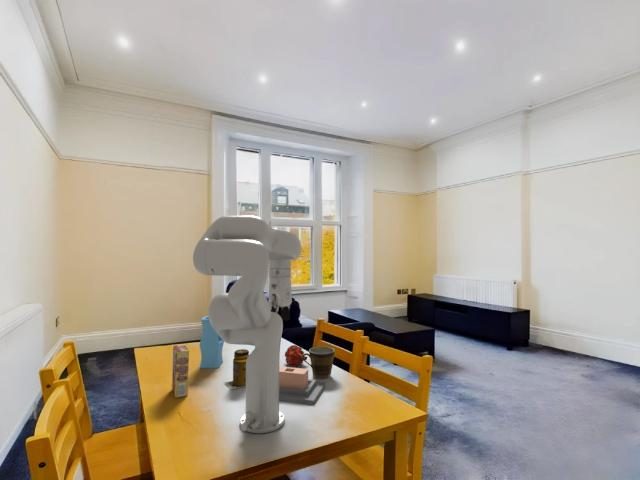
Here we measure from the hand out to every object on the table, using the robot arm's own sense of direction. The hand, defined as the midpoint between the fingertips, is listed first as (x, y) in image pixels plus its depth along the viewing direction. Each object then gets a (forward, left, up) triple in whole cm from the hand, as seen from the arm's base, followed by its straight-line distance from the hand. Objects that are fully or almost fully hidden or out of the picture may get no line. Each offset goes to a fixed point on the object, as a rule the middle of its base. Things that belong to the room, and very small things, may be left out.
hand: (279, 322), depth 124 cm
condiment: (+2, +17, -24) cm, 29 cm away
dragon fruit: (+28, +4, -24) cm, 37 cm away
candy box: (-10, +33, -24) cm, 42 cm away
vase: (+18, +38, -24) cm, 48 cm away
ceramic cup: (+17, -9, -24) cm, 31 cm away
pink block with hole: (+1, -3, -22) cm, 23 cm away
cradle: (+1, -3, -24) cm, 24 cm away
